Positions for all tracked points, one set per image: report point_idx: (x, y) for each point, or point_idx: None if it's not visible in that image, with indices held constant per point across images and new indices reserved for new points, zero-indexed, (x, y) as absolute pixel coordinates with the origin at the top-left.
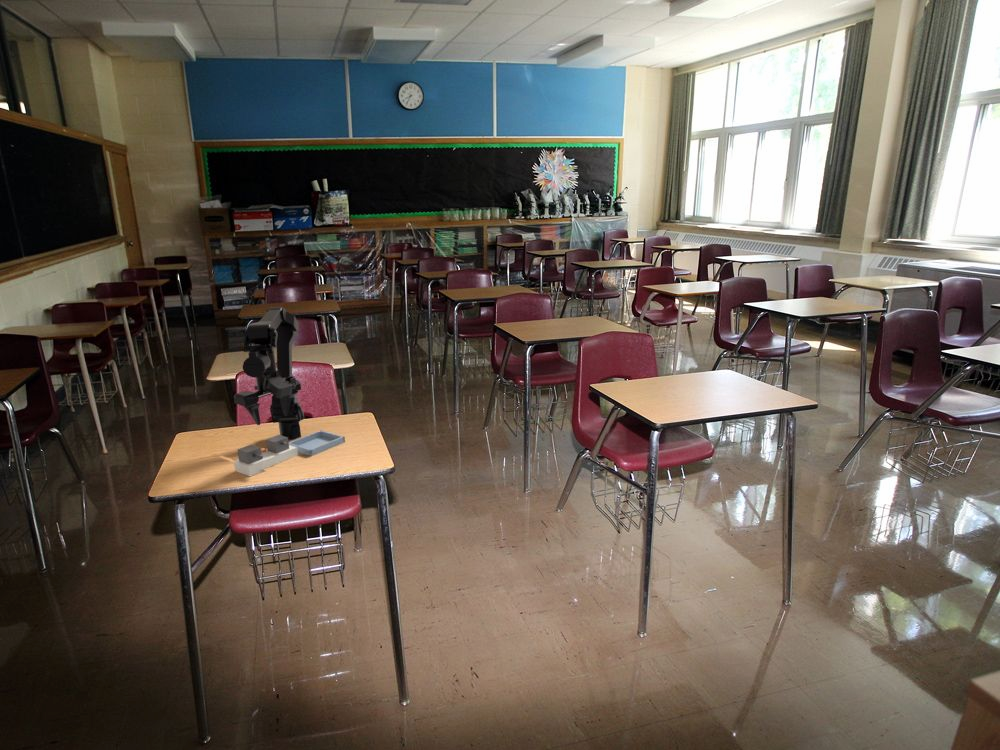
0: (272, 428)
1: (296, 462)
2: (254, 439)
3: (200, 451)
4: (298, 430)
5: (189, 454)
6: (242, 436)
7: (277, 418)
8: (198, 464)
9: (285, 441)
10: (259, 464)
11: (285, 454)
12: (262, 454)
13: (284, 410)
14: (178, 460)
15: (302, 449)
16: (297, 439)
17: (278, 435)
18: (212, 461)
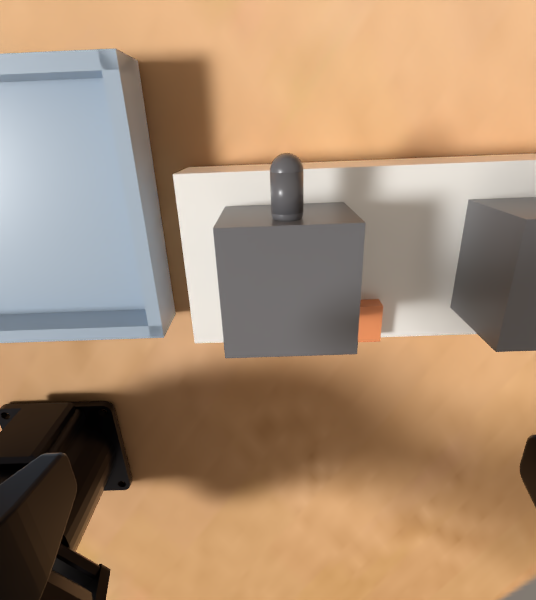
0: None
1: (244, 100)
2: (200, 544)
3: (406, 588)
4: (10, 435)
5: (447, 592)
6: (214, 595)
7: (75, 582)
8: (513, 499)
9: (247, 220)
10: (516, 159)
11: None
12: (403, 276)
13: (28, 550)
14: (510, 577)
15: (139, 162)
16: (80, 335)
17: (237, 343)
18: (464, 484)
